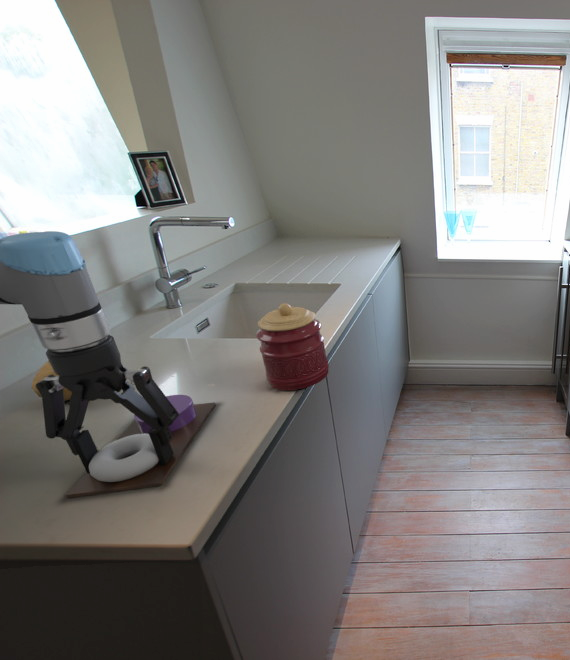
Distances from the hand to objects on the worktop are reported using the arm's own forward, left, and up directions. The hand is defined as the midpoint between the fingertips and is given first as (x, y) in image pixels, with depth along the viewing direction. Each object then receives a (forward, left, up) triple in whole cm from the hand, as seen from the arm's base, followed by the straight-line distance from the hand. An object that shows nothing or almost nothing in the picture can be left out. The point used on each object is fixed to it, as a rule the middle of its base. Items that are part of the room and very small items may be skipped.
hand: (131, 463), depth 73 cm
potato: (-25, +28, -1) cm, 37 cm away
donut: (0, 0, 0) cm, 0 cm away
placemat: (0, +6, -1) cm, 6 cm away
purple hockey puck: (0, +12, 0) cm, 12 cm away
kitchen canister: (+21, +26, -1) cm, 33 cm away
